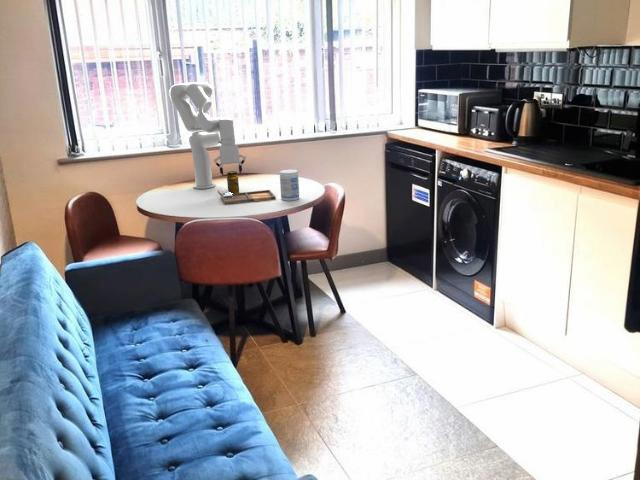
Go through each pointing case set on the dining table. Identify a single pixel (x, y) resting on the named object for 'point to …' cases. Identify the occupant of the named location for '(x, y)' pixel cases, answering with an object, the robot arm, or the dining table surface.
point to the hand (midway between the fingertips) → (231, 173)
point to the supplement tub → (289, 185)
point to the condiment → (233, 182)
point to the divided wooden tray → (249, 197)
